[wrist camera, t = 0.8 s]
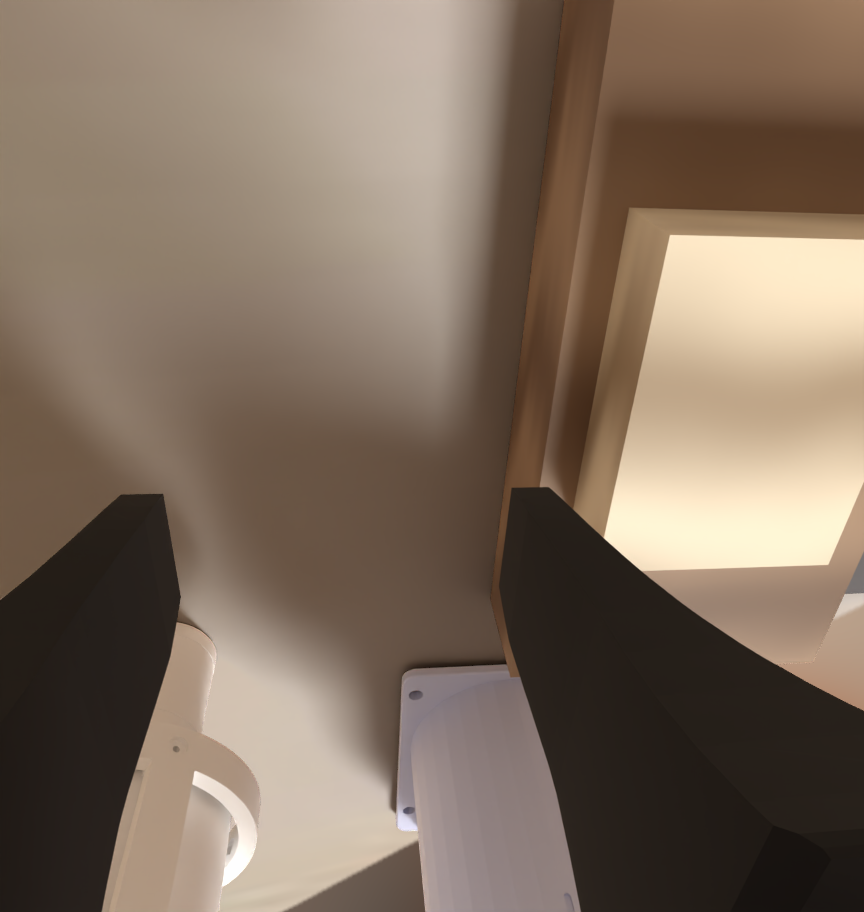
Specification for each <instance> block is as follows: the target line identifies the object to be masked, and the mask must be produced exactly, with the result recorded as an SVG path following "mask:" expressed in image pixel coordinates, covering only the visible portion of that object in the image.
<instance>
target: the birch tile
mask: <svg viewBox="0 0 864 912" xmlns="http://www.w3.org/2000/svg"><path fill="white" fill-rule="evenodd" d="M863 483H864V215H860V214H827V213H793V212H759V211H726V210H692V209H658V208H629V211H628V217H627V222H626V228H625V233H624V238H623V244H622V249H621V254H620V260H619V265H618V271H617V276H616V281H615V287H614V292H613V297H612V303H611V308H610V314H609V319H608V324H607V330H606V335H605V340H604V346H603V351H602V357H601V362H600V367H599V373H598V378H597V383H596V389H595V394H594V400H593V405H592V410H591V416H590V421H589V426H588V432H587V437H586V443H585V448H584V453H583V459H582V464H581V469H580V475H579V480H578V486H577V491H576V496H575V502H574V507H573V510H574V511H575V512H576V513H577V514H579V515H580V516H581V517H582V518H583V519H584V520H585V521H586V522H587V523H588V524H589V525H590V526H591V527H592V528H593V529H595V530H596V531H597V532H598V533H599V534H600V535H601V536H602V537H603V538H604V539H605V540H606V541H608V542H609V543H610V544H611V545H612V546H613V547H614V548H615V549H616V550H618V551H619V552H620V553H621V554H622V555H623V556H624V557H626V558H627V559H628V560H629V561H630V562H631V563H633V564H634V565H635V566H636V567H637V568H638V569H640V570H641V571H658V570H689V569H719V568H750V567H780V566H811V565H828V564H829V562H830V560H831V557H832V555H833V553H834V550H835V548H836V546H837V543H838V541H839V539H840V536H841V534H842V532H843V529H844V527H845V525H846V522H847V520H848V518H849V515H850V513H851V511H852V508H853V506H854V504H855V501H856V499H857V497H858V494H859V492H860V490H861V487H862V485H863Z"/></svg>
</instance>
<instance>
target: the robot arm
mask: <svg viewBox="0 0 864 912" xmlns="http://www.w3.org/2000/svg"><path fill="white" fill-rule="evenodd" d="M499 590H500V596H501V602H502V607H503V613H504V619H505V624H506V629H507V634H508V639H509V643H510V647H511V650H512V653H513V656H514V659H515V663H516V666H517V669H518V672H519V675H520V677H510V674H509V670H508V666H507V664H503V665H482V666H461V667H440V668H419V669H411V670H409V671H407V672H406V673H405V674H404V675H403V677H402V685H401V709H400V732H399V756H398V779H397V803H396V825H397V828H399V829H400V830H402V831H417V830H418V839H419V848H420V859H421V870H422V881H423V891H424V902H425V912H864V711H863V710H861V709H859V708H857V707H855V706H852V705H850V704H848V703H846V702H844V701H842V700H840V699H838V698H836V697H834V696H833V695H831V694H829V693H827V692H825V691H823V690H821V689H819V688H817V687H815V686H813V685H811V684H809V683H808V682H806V681H804V680H802V679H800V678H799V677H797V676H795V675H793V674H792V673H790V672H788V671H786V670H785V669H783V668H781V667H779V666H778V665H776V664H774V663H772V662H771V661H769V660H767V659H765V658H764V657H762V656H760V655H759V654H757V653H755V652H754V651H752V650H751V649H749V648H747V647H746V646H744V645H742V644H741V643H739V642H738V641H736V640H735V639H733V638H732V637H730V636H729V635H727V634H726V633H724V632H723V631H721V630H720V629H718V628H717V627H715V626H714V625H712V624H711V623H709V622H708V621H706V620H705V619H703V618H702V617H700V616H699V615H698V614H696V613H695V612H693V611H692V610H691V609H689V608H688V607H687V606H685V605H684V604H682V603H681V602H680V601H679V600H677V599H676V598H675V597H673V596H672V595H671V594H670V593H668V592H667V591H666V590H664V589H663V588H662V587H661V586H659V585H658V584H657V583H656V582H654V581H653V580H652V579H650V578H649V577H648V576H647V575H646V574H644V573H643V572H642V571H641V570H640V569H638V568H637V567H636V566H635V565H634V564H633V563H631V562H630V561H629V560H628V559H627V558H626V557H624V556H623V555H622V554H621V553H620V552H619V551H618V550H616V549H615V548H614V547H613V546H612V545H611V544H610V543H609V542H608V541H606V540H605V539H604V538H603V537H602V536H601V535H600V534H599V533H598V532H597V531H596V530H595V529H593V528H592V527H591V526H590V525H589V524H588V523H587V522H586V521H585V520H584V519H583V518H582V517H581V516H580V515H579V514H577V513H576V512H575V511H574V510H573V509H572V508H571V507H570V506H569V505H568V504H567V503H566V502H565V501H564V500H563V499H562V498H561V497H559V496H558V495H557V494H556V493H555V492H554V491H553V490H552V489H551V488H549V487H523V488H511V496H510V504H509V511H508V519H507V527H506V534H505V542H504V550H503V558H502V565H501V573H500V581H499ZM180 598H181V596H180V590H179V584H178V578H177V572H176V567H175V561H174V555H173V549H172V543H171V537H170V531H169V525H168V520H167V514H166V508H165V502H164V496H163V494H135V495H120V496H119V497H118V498H117V499H116V500H114V501H113V502H112V503H111V504H110V505H109V506H108V507H107V508H105V509H104V510H103V511H102V512H101V513H100V514H99V515H98V516H97V517H96V518H95V519H94V520H92V521H91V522H90V523H89V524H88V525H87V526H86V527H85V528H84V529H83V530H82V531H80V532H79V533H78V534H77V535H76V536H75V537H74V538H73V539H72V540H71V541H69V542H68V543H67V544H66V545H65V546H64V547H63V548H62V549H60V550H59V551H58V552H57V553H56V554H55V555H54V556H53V557H51V558H50V559H49V560H48V561H47V562H46V563H45V564H44V565H42V566H41V567H40V568H39V569H38V570H37V571H36V572H34V573H33V574H32V575H31V576H30V577H29V578H27V579H26V580H25V581H24V582H22V583H21V584H20V585H19V586H17V587H16V588H15V589H14V590H12V591H11V592H10V593H9V594H8V595H6V596H5V597H4V598H3V599H1V600H0V912H102V908H103V903H104V897H105V892H106V887H107V882H108V878H109V873H110V868H111V863H112V858H113V853H114V849H115V844H116V839H117V834H118V829H119V825H120V821H121V817H122V813H123V810H124V806H125V802H126V798H127V795H128V791H129V788H130V785H131V782H132V778H133V775H134V772H135V769H136V766H137V763H138V759H139V756H140V753H141V750H142V747H143V743H144V740H145V737H146V734H147V731H148V728H149V724H150V721H151V718H152V715H153V712H154V709H155V705H156V702H157V699H158V696H159V692H160V689H161V686H162V683H163V679H164V676H165V673H166V670H167V666H168V663H169V660H170V656H171V651H172V645H173V640H174V635H175V629H176V623H177V617H178V610H179V604H180ZM415 690H418V691H415ZM413 691H415V692H413Z"/></svg>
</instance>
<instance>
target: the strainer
mask: <svg viewBox="0 0 864 912" xmlns="http://www.w3.org/2000/svg"><path fill="white" fill-rule="evenodd" d="M216 657H217V654H216V649H215V646H214V644H213V642H212V641H211V640H210V638H209V637H208V636H207V635H205V634H204V633H203V632H202V631H200V630H198V629H196V628H194V627H192V626H189V625H186V624H183V623H178V622H177V623H176V629H175V635H174V640H173V645H172V651H171V656H170V660H169V663H168V666H167V670H166V673H165V676H164V679H163V683H162V686H161V689H160V692H159V696H158V699H157V702H156V705H155V709H154V712H153V715H152V718H151V721H150V724H149V728H148V731H147V734H146V737H145V740H144V743H143V747H142V750H141V753H140V756H139V759H138V763H137V766H136V769H135V772H134V775H133V778H132V782H131V785H130V788H129V791H128V795H127V798H126V802H125V806H124V810H123V813H122V817H121V821H120V825H119V829H118V834H117V839H116V844H115V849H114V853H113V858H112V863H111V868H110V873H109V878H108V882H107V887H106V892H105V897H104V903H103V908H102V912H219V907H220V900H221V892H222V887H223V886H225V885H226V884H228V883H229V882H230V881H232V880H233V879H234V878H235V877H237V876H238V875H239V874H240V873H241V872H242V871H243V869H244V868H245V867H246V866H247V864H248V863H249V861H250V860H251V858H252V856H253V853H254V851H255V847H256V842H257V833H258V823H259V813H260V802H261V797H260V790H259V786H258V783H257V781H256V779H255V777H254V775H253V773H252V771H251V770H250V769H249V767H248V766H247V765H246V764H245V763H244V761H243V760H242V759H241V758H240V757H238V756H237V755H236V754H235V753H234V752H232V751H231V750H230V749H228V748H227V747H225V746H224V745H222V744H221V743H219V742H217V741H215V740H214V739H212V738H210V737H207V736H205V735H203V734H202V731H203V723H204V718H205V713H206V708H207V702H208V697H209V692H210V687H211V682H212V676H213V673H214V668H215V663H216ZM232 817H233V819H234V820H235V823H236V825H235V826H234V828H233V829H232V830H231V831H230V825H231V818H232Z"/></svg>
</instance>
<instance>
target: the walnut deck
mask: <svg viewBox="0 0 864 912" xmlns="http://www.w3.org/2000/svg"><path fill="white" fill-rule="evenodd" d="M629 208H658V209H692V210H726V211H759V212H793V213H827V214H860V215H864V0H564V5H563V13H562V21H561V29H560V37H559V45H558V53H557V62H556V70H555V78H554V86H553V94H552V102H551V110H550V118H549V126H548V135H547V143H546V151H545V159H544V167H543V175H542V183H541V191H540V199H539V208H538V216H537V224H536V232H535V240H534V248H533V256H532V264H531V272H530V281H529V289H528V297H527V305H526V313H525V321H524V329H523V337H522V346H521V354H520V362H519V370H518V378H517V386H516V394H515V402H514V410H513V419H512V427H511V435H510V443H509V451H508V459H507V467H506V475H505V483H504V492H503V500H502V508H501V516H500V524H499V532H498V540H497V548H496V556H495V565H494V573H493V581H492V589H491V597H490V600H491V604H492V608H493V612H494V616H495V620H496V624H497V627H498V631H499V635H500V639H501V643H502V647H503V651H504V655H505V659H506V662H507V666H508V670H509V674H510V677H520V675H519V672H518V669H517V666H516V663H515V659H514V656H513V653H512V650H511V647H510V643H509V639H508V634H507V629H506V624H505V619H504V613H503V607H502V602H501V596H500V590H499V581H500V573H501V565H502V558H503V550H504V542H505V534H506V527H507V519H508V511H509V504H510V496H511V488H523V487H549V488H551V489H552V490H553V491H554V492H555V493H556V494H557V495H558V496H559V497H561V498H562V499H563V500H564V501H565V502H566V503H567V504H568V505H569V506H570V507H571V508H572V509H573V507H574V502H575V496H576V491H577V486H578V480H579V475H580V469H581V464H582V459H583V453H584V448H585V443H586V437H587V432H588V426H589V421H590V416H591V410H592V405H593V400H594V394H595V389H596V383H597V378H598V373H599V367H600V362H601V357H602V351H603V346H604V340H605V335H606V330H607V324H608V319H609V314H610V308H611V303H612V297H613V292H614V287H615V281H616V276H617V271H618V265H619V260H620V254H621V249H622V244H623V238H624V233H625V228H626V222H627V217H628V211H629ZM863 552H864V483H863V485H862V487H861V490H860V492H859V494H858V497H857V499H856V501H855V504H854V506H853V508H852V511H851V513H850V515H849V518H848V520H847V522H846V525H845V527H844V529H843V532H842V534H841V536H840V539H839V541H838V543H837V546H836V548H835V550H834V553H833V555H832V557H831V560H830V562H829V564H828V565H811V566H780V567H750V568H719V569H689V570H658V571H642V572H643V573H644V574H646V575H647V576H648V577H649V578H650V579H652V580H653V581H654V582H656V583H657V584H658V585H659V586H661V587H662V588H663V589H664V590H666V591H667V592H668V593H670V594H671V595H672V596H673V597H675V598H676V599H677V600H679V601H680V602H681V603H682V604H684V605H685V606H687V607H688V608H689V609H691V610H692V611H693V612H695V613H696V614H698V615H699V616H700V617H702V618H703V619H705V620H706V621H708V622H709V623H711V624H712V625H714V626H715V627H717V628H718V629H720V630H721V631H723V632H724V633H726V634H727V635H729V636H730V637H732V638H733V639H735V640H736V641H738V642H739V643H741V644H742V645H744V646H746V647H747V648H749V649H751V650H752V651H754V652H755V653H757V654H759V655H760V656H762V657H764V658H765V659H767V660H769V661H771V662H772V663H774V664H790V663H810V662H814V659H815V657H816V655H817V653H818V650H819V649H820V646H821V644H822V642H823V640H824V638H825V635H826V633H827V631H828V629H829V627H830V625H831V622H832V620H833V618H834V616H835V614H836V611H837V609H838V607H839V605H840V603H841V601H842V598H843V596H844V594H845V592H846V590H847V587H848V585H849V583H850V581H851V579H852V576H853V574H854V572H855V570H856V568H857V566H858V563H859V561H860V559H861V557H862V555H863Z"/></svg>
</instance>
